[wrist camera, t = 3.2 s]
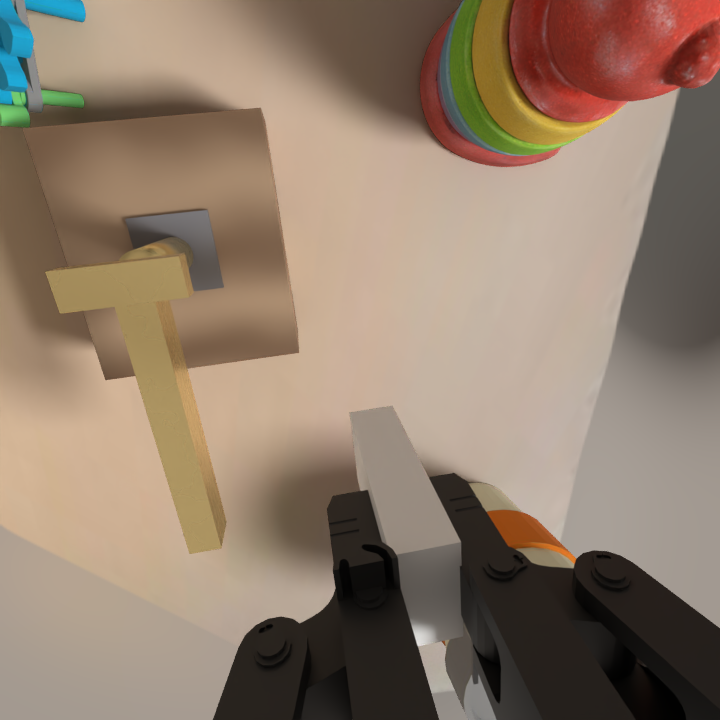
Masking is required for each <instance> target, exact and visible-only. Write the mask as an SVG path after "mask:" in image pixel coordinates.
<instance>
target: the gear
mask: <svg viewBox="0 0 720 720" xmlns="http://www.w3.org/2000/svg"><path fill="white" fill-rule="evenodd" d="M26 9H28V10H33V11H37V12H41V13H45V14H50V15H54V16H58V17H62V18H67V19H71V20H75V21H79V22H84V20H85V8H84V5H83V2H82V1H81V0H0V103H2V104H0V126H11V127H27V128H28V127H30V117H29V113H28V112H35V113H41V112H42V109H43V104H45V105H55V106H65V107H75V108H83V107H84V100H83V97H82V95H81V94H75V93H67V92H58V91H50V90H42V89H41V87H40V82H39V76H38V71H37V66H36V60H35V55H34V50H33V42H34V39H33V36H32V33H31V31H30V28H29V23H28V18H27V12H26ZM7 104H11V105H7Z"/></svg>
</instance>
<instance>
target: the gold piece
mask: <svg viewBox="0 0 720 720" xmlns="http://www.w3.org/2000/svg"><path fill="white" fill-rule="evenodd" d="M192 263H193V251H192V249H191V247H190V246H189V244H188V243H187V242H185V241H184V240H182V239H180V238H177V237H168V238H165V239H162V240H160V241H157V242H154V243H151V244H148V245H146V246H143V247H140V248H137V249H135V250H132V251H129V252H127V253H125V254H124V255H123V256H122V257H121V258H120V259H119V261H112V262H103V263H94V264H86V265H77V266H68V267H60V268H56V269H52V270H49V271H46V272H45V273H46V276H47V279H48V281H49V284H50V287H51V290H52V293H53V296H54V298H55V301H56V304H57V307H58V310H59V313H60V314H62V313H70V312H78V311H86V310H94V309H102V308H110V307H115V310H116V313H117V317H118V320H119V323H120V326H121V330H122V333H123V336H124V340H125V343H126V346H127V349H128V353H129V356H130V359H131V363H132V366H133V369H134V373H135V376H136V379H137V382H138V386H139V389H140V392H141V396H142V399H143V402H144V405H145V409H146V412H147V415H148V419H149V422H150V425H151V428H152V432H153V435H154V438H155V442H156V445H157V448H158V451H159V455H160V458H161V461H162V465H163V468H164V471H165V475H166V478H167V481H168V484H169V488H170V491H171V494H172V498H173V501H174V504H175V507H176V511H177V514H178V517H179V521H180V524H181V527H182V530H183V534H184V537H185V540H186V544H187V547H188V550H189V553H190V554H192V553H198V552H203V551H209V550H214V549H220V548H222V543H223V538H224V532H225V527H226V518H225V514H224V510H223V506H222V502H221V498H220V494H219V491H218V487H217V483H216V479H215V475H214V471H213V467H212V463H211V459H210V456H209V452H208V448H207V444H206V440H205V436H204V432H203V428H202V424H201V421H200V417H199V413H198V409H197V405H196V401H195V397H194V393H193V389H192V385H191V382H190V378H189V374H188V370H187V366H186V362H185V358H184V354H183V350H182V347H181V343H180V339H179V335H178V331H177V327H176V323H175V319H174V315H173V312H172V308H171V304H170V300H173V299H181V298H189V297H190V296H191V295H192V294H193V293H194V290H193V286H192V282H191V278H190V273H189V268H190V267H191V265H192Z"/></svg>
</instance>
